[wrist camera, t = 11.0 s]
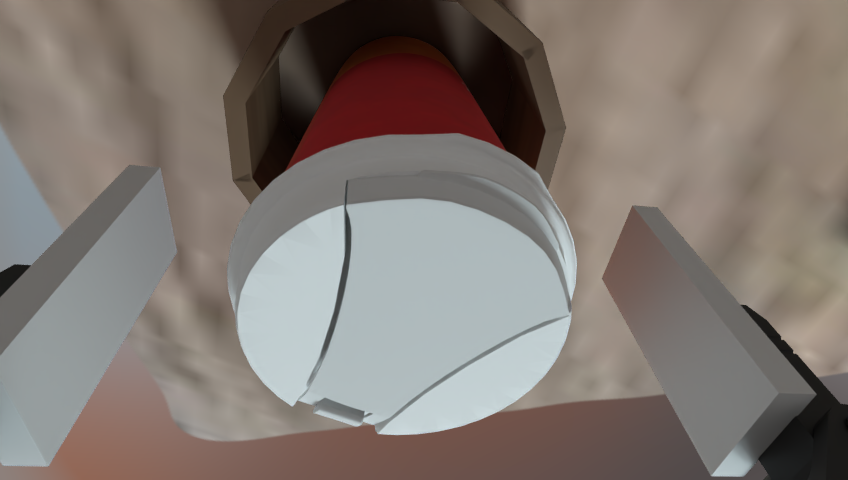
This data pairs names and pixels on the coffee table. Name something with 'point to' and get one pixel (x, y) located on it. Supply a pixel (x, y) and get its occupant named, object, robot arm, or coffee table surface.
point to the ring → (275, 145)
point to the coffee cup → (402, 255)
